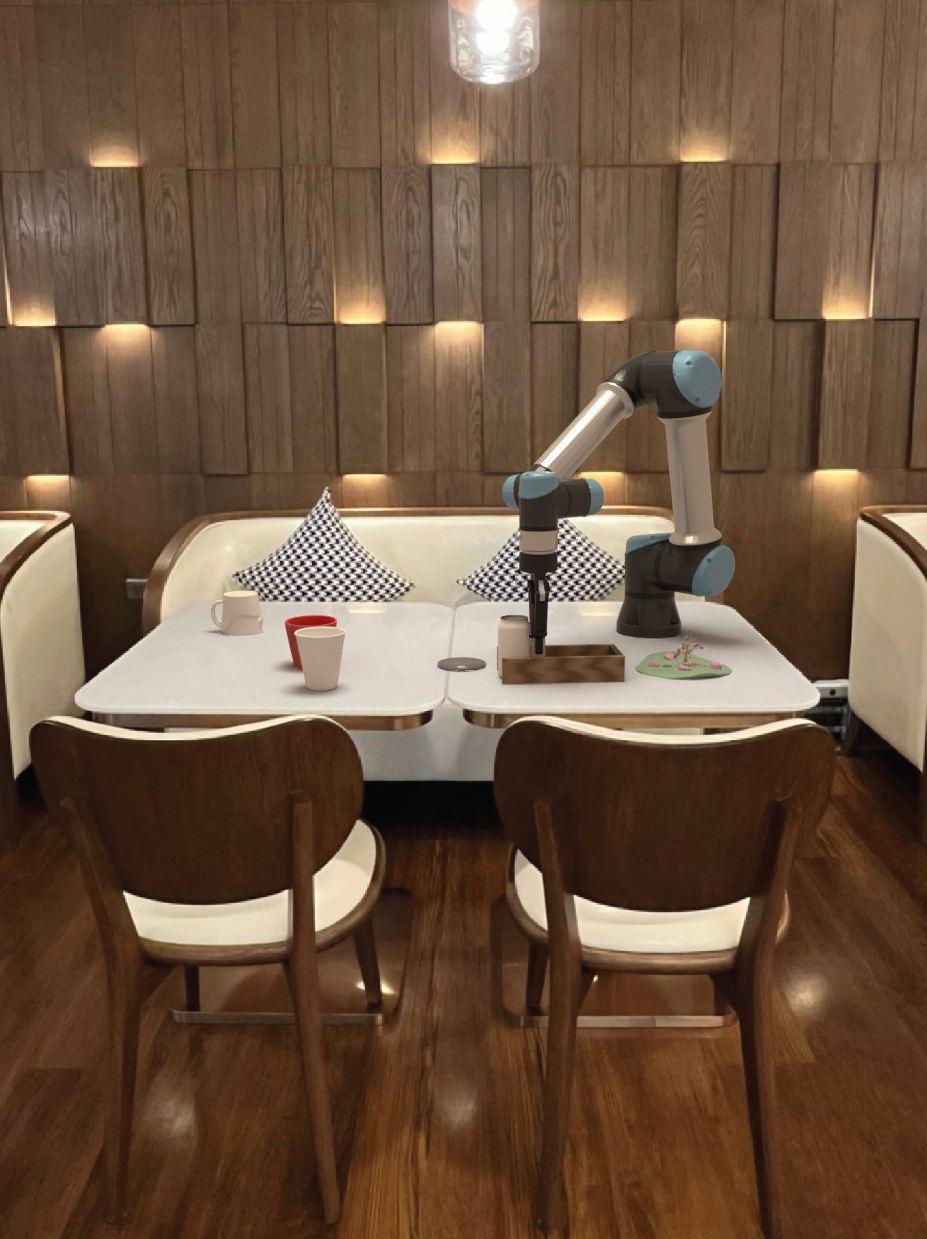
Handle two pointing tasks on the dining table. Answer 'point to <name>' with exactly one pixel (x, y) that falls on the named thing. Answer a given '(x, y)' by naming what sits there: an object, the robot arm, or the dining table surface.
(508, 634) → the can
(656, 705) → the dining table surface
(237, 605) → the mug
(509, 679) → the channel
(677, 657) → the plant
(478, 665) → the coaster
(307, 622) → the flower pot
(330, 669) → the cup
